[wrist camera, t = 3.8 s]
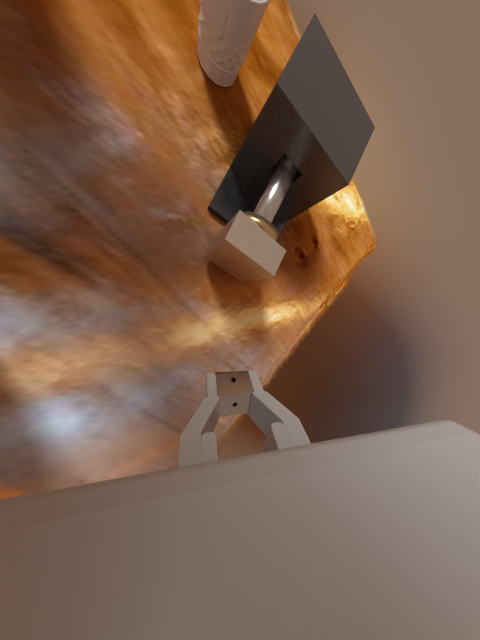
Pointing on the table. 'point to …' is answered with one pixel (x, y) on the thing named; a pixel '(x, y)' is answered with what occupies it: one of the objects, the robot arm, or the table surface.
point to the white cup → (227, 36)
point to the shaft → (254, 233)
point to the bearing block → (300, 135)
